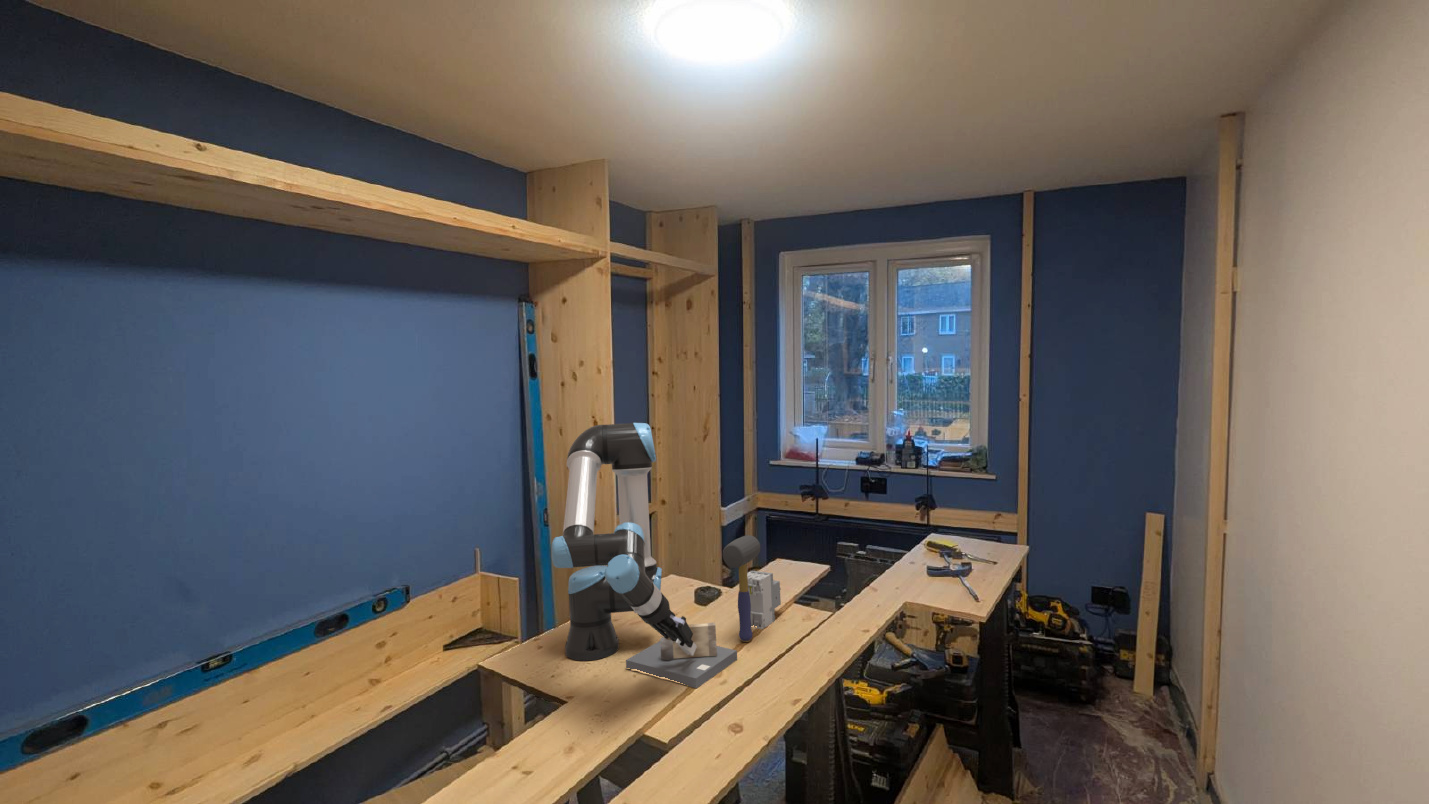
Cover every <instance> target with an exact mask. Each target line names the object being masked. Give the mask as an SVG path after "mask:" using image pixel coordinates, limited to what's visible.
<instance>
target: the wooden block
mask: <svg viewBox="0 0 1429 804" xmlns="http://www.w3.org/2000/svg"><path fill="white" fill-rule="evenodd" d="M688 626H689V627H690V629H691V631H692V633H693V636H692V638H691V640H692V641H693V642H694V643H695V644H696V646H697V648H696V650H695V652H694V655H693V656H691V655H690V654H689V655H687V654H686V653H685V652H684V651H683V650H682V649H681V648H680V647H679V645H678V644H677V643H676V642H675V641H672V640H671V639H670V638H668V639H666V638H665V637H663V636H662V637H660V638H659V641H660V646H661V659H662V660H672V659H675V658H688V657H702V656H717V647H716V646H717V631H716V630H717V629H716V622H707V623H690V624H688Z"/></svg>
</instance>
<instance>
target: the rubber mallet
mask: <svg viewBox="0 0 1429 804" xmlns="http://www.w3.org/2000/svg"><path fill="white" fill-rule="evenodd" d="M760 552H761V543H760V541H759V539H758V538H756V537H755V536H754V535H743V536H741V537H739V538H735V539H734V540H732V541H731V542H730V543H728V544H727V545H726V546H725V547H723V550H722V559H723V561H724V563H725V564H726V565H727V566H728V567H730V568H734V569H735V568H738V584H739V585H738V586H739V590H738V594H737V612H738V617H739V632H738V637H739V639H740V640H741V642H742V643H749V642H751V641H752V638H753V634H754V633H753V631H752V627H751V619H750V614H751V602H750V595H749V591H748V577H747V573H748V563H750V562H751V561H753V560H754V559H755V558H757V557H758V555H759V554H760Z"/></svg>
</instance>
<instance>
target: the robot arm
mask: <svg viewBox="0 0 1429 804" xmlns="http://www.w3.org/2000/svg"><path fill="white" fill-rule="evenodd" d="M656 461H657V455H656V450H655V445H654V439H653V434H652V428H651V426H650V425H649V424H648V423H644V422H629V423H613V424H612V423H611V424H609V423H608V424H596V425H593V426H590V427H589V428H587V429H585V430H584V431H583V432H581V433H580V434H579V435H578V436H577V438H575V440H574V441H573V442H572V444H571V446H570V448H569V450H568V453H567V457H566V468H567V469H568V470H569V474H568V480H567V481H568V482H567V483H568V484H567V493H566V500H565V501H566V502H565V510H564V520H563V530H562V535H560V536H555V537H554V538H553V540H552V542H551V560H552V561H551V562H552V564H553V566H554V567H555V568H557V569H573V568H581V567H583V568H581V569H579V570H577V571H575V572H573V573H572V574H570V576H569V579H568V589H567V593H568V603H569V607H568V608H569V620H570V621H569V622H570V623H569V629H568V632H567V633H568V634H567V640H566V641H565V646H564V649H565V656H566V657H567V658H569V659H570V660H574V661H575V660H576V661H580V662H581V661H584V662H585V661H594V660H595V661H596V660H601V659H604V658H606V657H609V656H612V655H614V654H615V653H616V652H617V651H618V650H619V647H620V644H619V642H620V641H619V637H618V635H617V633H616V629H615V627H614V624H613V621H612V614H615V613H628V612H629V613H630V612H634V614H637V615H638V616H639V617H640V619H641V620H642V621H643V622H644V623H645V624H648V625H649V626H650V627H651V628H653V630H655V631H656V632H658V633H659V634H660V635H661V636H662V637H665V638H666V639H668V638H670V639H671V640H672V641H675V642H676V643H677V644H678V645H679V647H680V648H681V649H682V650H683V651H684V652H685V653H686V654H687V655H689V654H690V655H691V656H693V655H694V652H695V650H696V648H697V646H696V644H695V643H694V642H693V641H692V640H691V638H692V636H693V633H692V631H691V629H690V627H689V626H688V625H689V624H688V622H687V617H685V616H683V615H682V616H681V617H680V616H679V617H678V616H676V613H674V612H673V611H672V609H671V608H670V601H669V600H668V598H667V597H666V596H665V595H664V594H663V592H661V588H662V585H661V584H662V573H663V572H662V571H663V569H662V567H659V566H657V560H656V559H654V558H653V557H652V551H651V549H652V548H651V531H650V511H649V510H650V509H649V508H650V507H649V506H650V505H649V491H648V490H649V489H648V474H649V472H650V471H651V470H652V468H653V465H652V463H655V462H656ZM602 465H611V471H612V472H613V473H614V474H615V475H616V476H617V490H618V492H617V494H618V495H617V496H618V512H619V513H618V515H619V516H618V517H619V518H618V519H619V524H618V525H617V526H616V527H615V529H614V531H613V532H610V533H595V534H594V532H595V519H596V518H595V515H596V501H597V500H596V496H597V482H598V481H597V480H598V472H599V471H600V469H601V467H602ZM584 567H585V568H584Z"/></svg>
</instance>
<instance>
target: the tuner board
mask: <svg viewBox="0 0 1429 804" xmlns="http://www.w3.org/2000/svg"><path fill="white" fill-rule="evenodd" d="M716 647H717V656H702V657H688V658H675V659H672V660H662V659H661V646H660V640H659V641H657V642H655V643H654V644H651V645H650V646H648V647H647V648H645V649H643V650H641V651H639V652H638V653H636V654H634V655H633V656H631V657H628V658H627V659H626V660H625V669H626V668H630V669H637V670H640V671H643V672H646V673H649V674H653V675H656V676H659V677H665V678H668V679H670V680H674V681H677V682H680V683H683V684H685V685H688V686H687V687H690V688H693V689H698V688H699V687H701V686H702V685H704V684H705V683H707V682H708V681H709V680H711V679H712V678H713V677H715V676H716V675H718V674H719V673H720V672H722V671H723V670H725V669H727V668H728V667H729V666H731V665H732V664H734V662H737V660H738V649H737V650H736V649H733V648H729V647H723V646H720V645H716ZM685 685H684V686H685Z"/></svg>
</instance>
